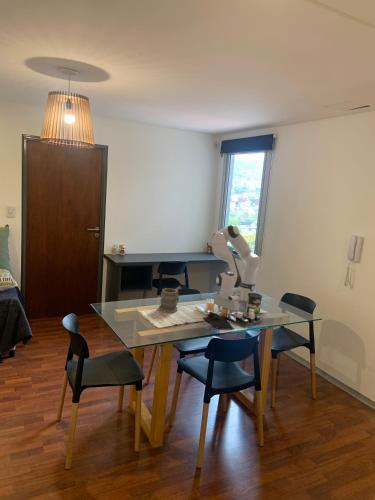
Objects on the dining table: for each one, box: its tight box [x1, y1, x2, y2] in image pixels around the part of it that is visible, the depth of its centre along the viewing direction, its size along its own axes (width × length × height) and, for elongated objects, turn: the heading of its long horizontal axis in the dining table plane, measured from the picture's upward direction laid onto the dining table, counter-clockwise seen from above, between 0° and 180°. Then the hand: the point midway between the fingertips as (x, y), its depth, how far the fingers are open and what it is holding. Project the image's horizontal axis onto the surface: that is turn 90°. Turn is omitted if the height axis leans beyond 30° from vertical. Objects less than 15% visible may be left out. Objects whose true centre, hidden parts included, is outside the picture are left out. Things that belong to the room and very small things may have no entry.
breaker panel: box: [224, 311, 263, 328], centre depth 251 cm, size 17×20×4 cm
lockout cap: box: [220, 307, 229, 317], centre depth 255 cm, size 4×4×6 cm
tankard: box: [158, 285, 182, 314], centre depth 260 cm, size 20×13×15 cm, turn 143°
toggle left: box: [236, 311, 243, 318], centre depth 245 cm, size 3×2×3 cm
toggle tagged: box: [249, 312, 255, 319], centre depth 246 cm, size 3×2×3 cm
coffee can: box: [245, 292, 263, 316], centre depth 268 cm, size 10×10×14 cm
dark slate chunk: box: [203, 311, 235, 330], centre depth 242 cm, size 15×22×5 cm
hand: (224, 313), depth 255 cm, fingers open, 7 cm apart
